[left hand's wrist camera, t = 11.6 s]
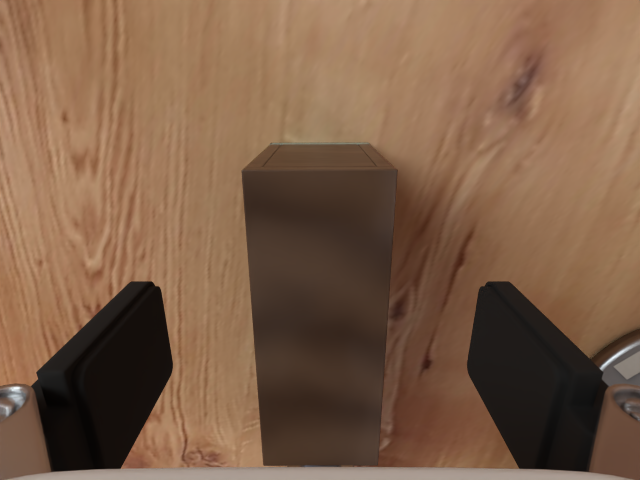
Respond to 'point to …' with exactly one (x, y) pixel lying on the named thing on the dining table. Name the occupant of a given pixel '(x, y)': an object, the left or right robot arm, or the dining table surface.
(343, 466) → the drawer
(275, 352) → the cabinet
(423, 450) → the dining table surface
